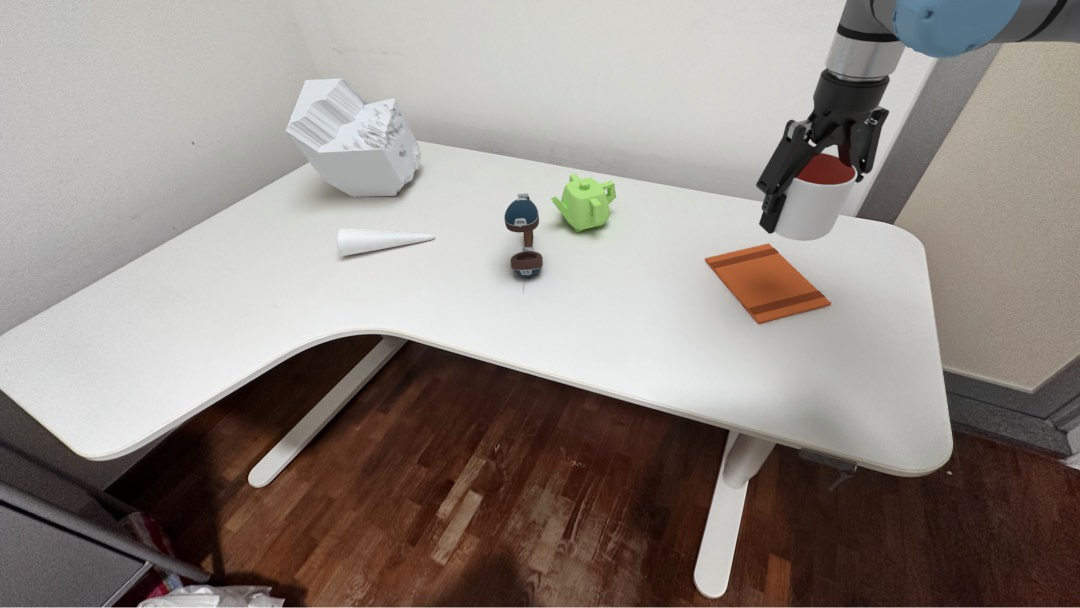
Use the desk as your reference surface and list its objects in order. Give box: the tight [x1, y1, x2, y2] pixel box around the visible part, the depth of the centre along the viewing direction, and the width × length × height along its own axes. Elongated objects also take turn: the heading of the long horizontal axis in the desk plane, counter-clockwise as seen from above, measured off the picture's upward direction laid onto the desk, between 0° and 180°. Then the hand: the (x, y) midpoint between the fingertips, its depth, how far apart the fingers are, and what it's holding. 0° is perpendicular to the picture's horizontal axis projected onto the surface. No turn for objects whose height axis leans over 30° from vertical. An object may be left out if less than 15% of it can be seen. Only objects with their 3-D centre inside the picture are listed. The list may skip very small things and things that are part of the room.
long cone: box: [336, 227, 436, 257], centre depth 98 cm, size 6×6×19 cm
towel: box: [704, 242, 832, 325], centre depth 85 cm, size 18×14×1 cm
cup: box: [774, 152, 857, 242], centre depth 69 cm, size 10×10×10 cm
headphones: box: [503, 192, 544, 294], centre depth 87 cm, size 6×15×22 cm
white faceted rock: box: [285, 77, 422, 198], centre depth 110 cm, size 20×16×25 cm
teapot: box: [550, 173, 617, 233], centre depth 99 cm, size 12×12×10 cm
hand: (796, 221), depth 72 cm, fingers closed on cup, 10 cm apart
